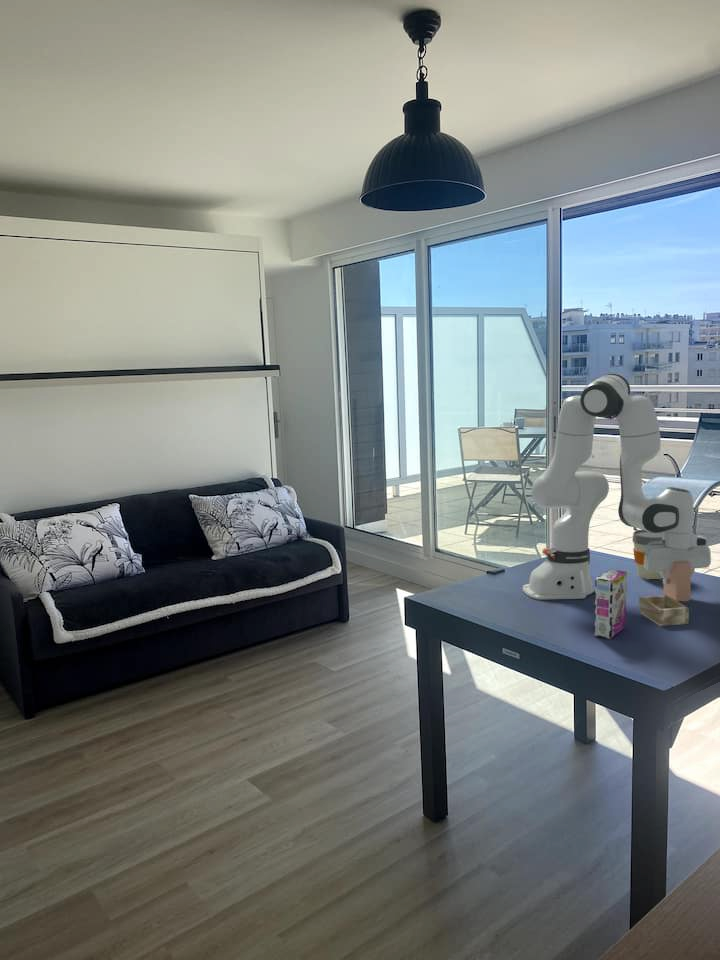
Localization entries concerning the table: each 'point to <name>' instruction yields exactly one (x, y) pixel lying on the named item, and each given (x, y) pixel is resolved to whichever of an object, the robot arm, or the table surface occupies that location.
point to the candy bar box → (610, 603)
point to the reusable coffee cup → (640, 542)
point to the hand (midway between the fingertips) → (676, 583)
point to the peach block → (679, 581)
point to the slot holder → (663, 610)
